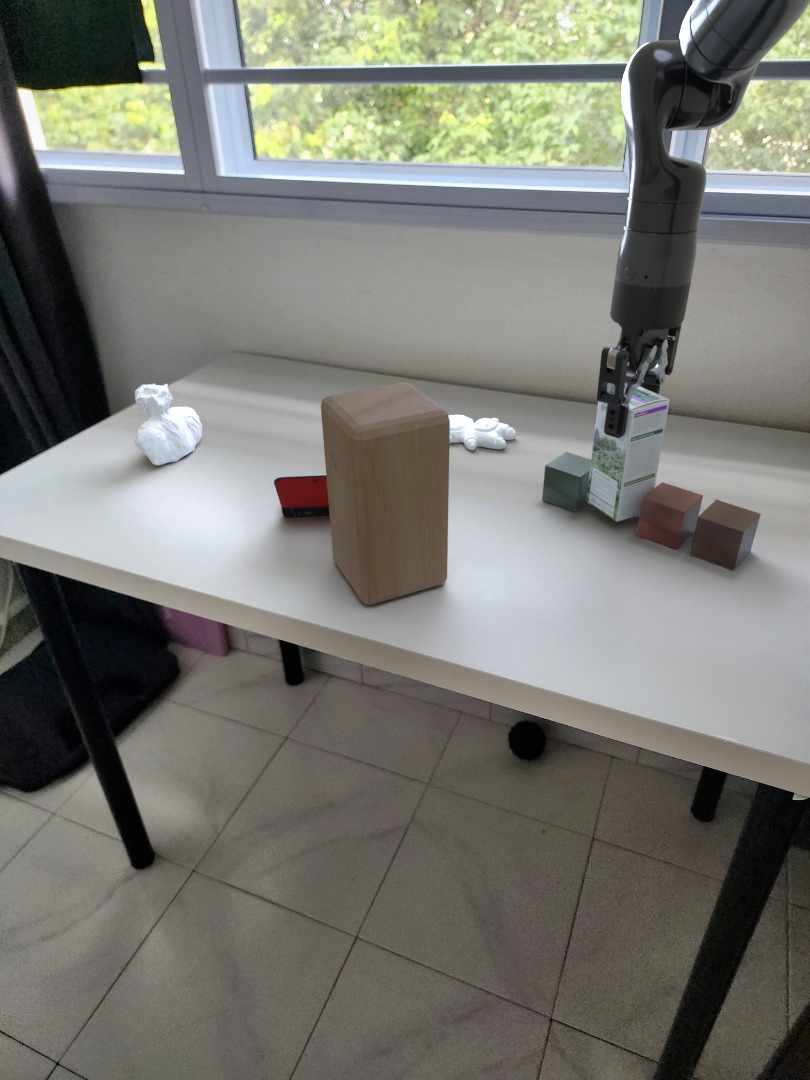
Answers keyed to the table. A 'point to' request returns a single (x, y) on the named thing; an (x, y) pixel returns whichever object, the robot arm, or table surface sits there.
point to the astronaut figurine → (479, 432)
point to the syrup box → (627, 456)
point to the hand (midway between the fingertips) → (630, 424)
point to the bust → (165, 426)
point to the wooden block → (387, 489)
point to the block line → (664, 514)
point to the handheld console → (303, 495)
